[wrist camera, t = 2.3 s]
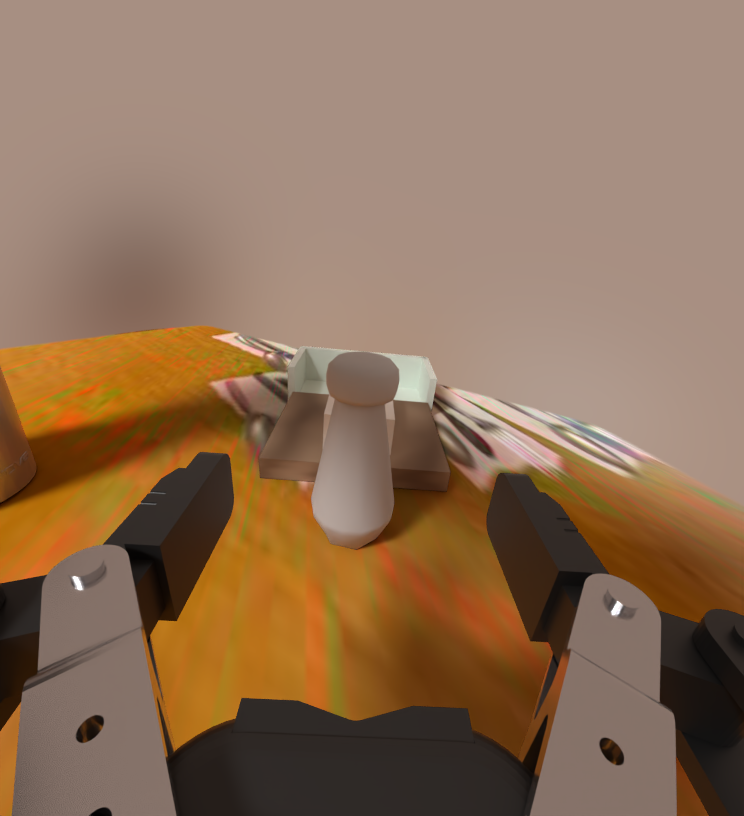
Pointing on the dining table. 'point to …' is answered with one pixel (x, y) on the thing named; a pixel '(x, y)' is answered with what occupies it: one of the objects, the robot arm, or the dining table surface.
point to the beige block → (389, 419)
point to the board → (303, 444)
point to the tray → (313, 361)
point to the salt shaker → (356, 451)
